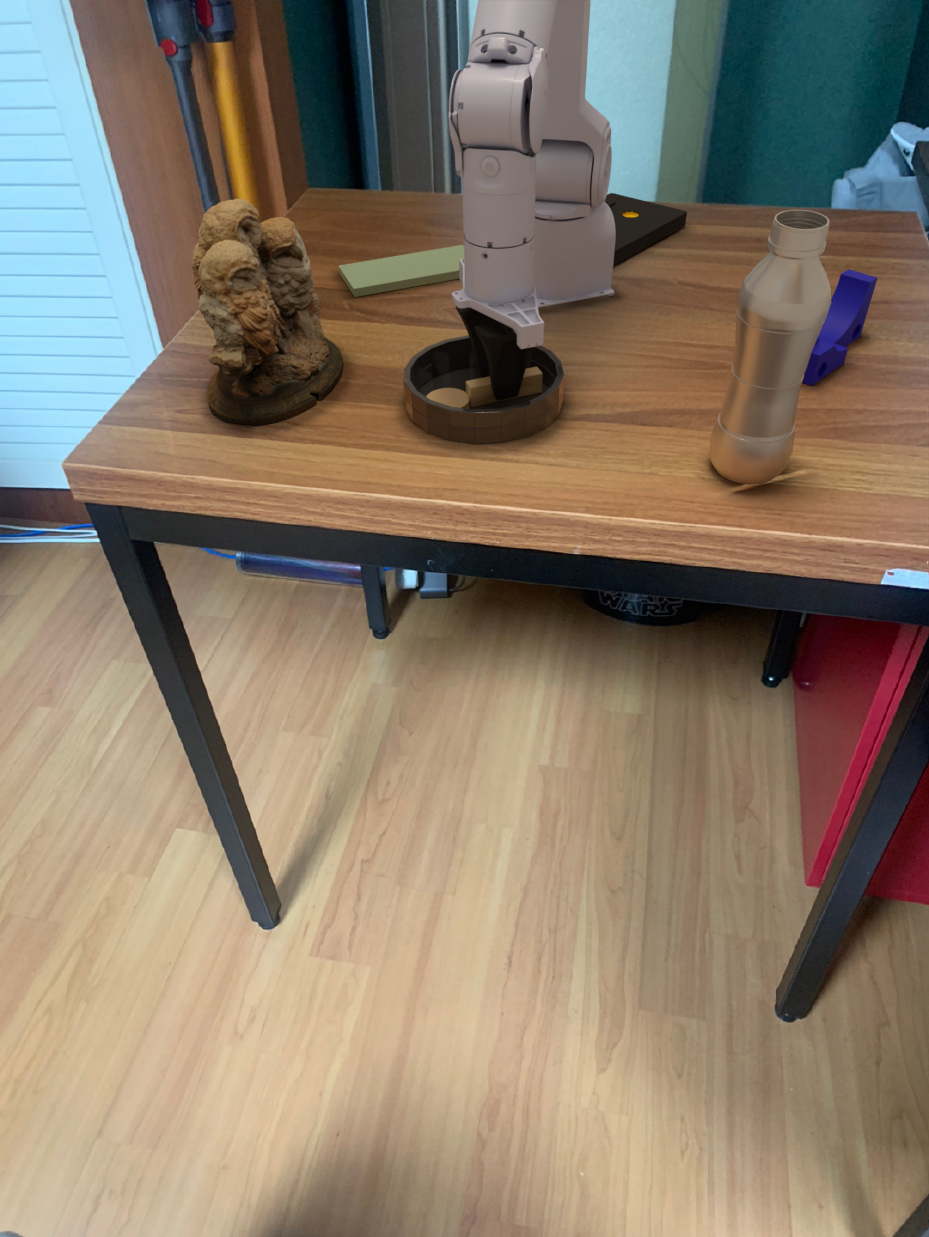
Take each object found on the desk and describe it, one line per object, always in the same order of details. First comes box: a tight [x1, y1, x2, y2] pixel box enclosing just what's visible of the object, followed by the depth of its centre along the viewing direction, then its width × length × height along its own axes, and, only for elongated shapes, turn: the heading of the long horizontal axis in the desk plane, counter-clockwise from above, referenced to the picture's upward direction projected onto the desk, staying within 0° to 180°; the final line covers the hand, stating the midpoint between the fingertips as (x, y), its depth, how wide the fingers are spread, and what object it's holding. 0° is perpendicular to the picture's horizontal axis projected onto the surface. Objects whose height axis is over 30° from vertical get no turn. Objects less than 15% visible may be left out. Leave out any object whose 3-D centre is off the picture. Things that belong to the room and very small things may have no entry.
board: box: [338, 244, 464, 298], centre depth 104 cm, size 20×7×1 cm, turn 110°
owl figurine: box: [191, 198, 344, 427], centre depth 79 cm, size 18×12×17 cm, turn 169°
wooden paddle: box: [426, 367, 543, 409], centre depth 80 cm, size 11×4×2 cm, turn 110°
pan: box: [403, 334, 565, 445], centre depth 80 cm, size 14×14×4 cm
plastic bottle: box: [709, 209, 832, 486], centre depth 66 cm, size 6×7×20 cm
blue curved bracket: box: [802, 268, 878, 387], centre depth 85 cm, size 12×4×6 cm, turn 135°
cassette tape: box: [605, 192, 688, 266], centre depth 109 cm, size 18×12×2 cm, turn 138°
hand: (499, 387), depth 81 cm, fingers open, 3 cm apart
